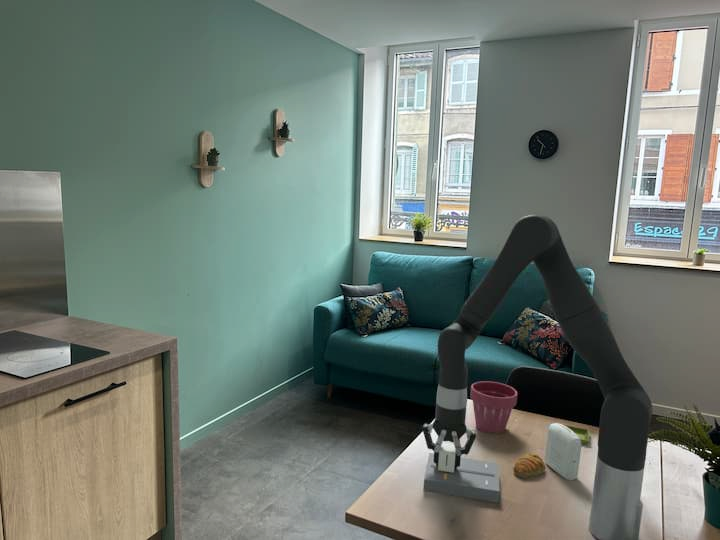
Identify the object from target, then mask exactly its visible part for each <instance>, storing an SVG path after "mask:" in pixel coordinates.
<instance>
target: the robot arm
mask: <svg viewBox="0 0 720 540" xmlns="http://www.w3.org/2000/svg"><path fill="white" fill-rule="evenodd" d="M532 262H533V264H534V265H535V266H536V268H537V270H538V272H539V273H540V276H541V278H542V281H543V282H544V286H545V290H546V293H547V294H546V295H547V297H548V300H549V304H550V307H551V311H552V314H553V315H554V318H555V320H556V322H557V325H558V326H559V329H560V330H561V332H562V334H563V336H564V338H565V339H566V341H567V343H568V344H569V346H570V347H571V348H572V349H573V351H574V352H575V353H576V354H577V355H578V356H579V357H580V358H581V359H582V361H584V363H585V364H586V365H587V366H588V367H589V369H590V370H591V372H592V374H593V376H594V378H595V380H596V381H597V384H598V386H599V388H600V392H601V393H602V396H603V398H604V401H603V404H602V406H601V411H600V416H599V418H600V419H599V425H598V426H599V427H598V437H597V456H596V463H595V473H594V481H593V490H592V498H591V505H590V506H591V507H590V514H589V521H588V522H589V523H588V530H589V532H590V533H591V534H592V535H593V536H594V537H595V538H596V539H598V540H639V537H640V530H641V523H642V516H643V508H644V504H643V502H642V500H641V495H642V489H643V481H644V473H645V465H646V459H647V449H648V439H649V434H650V426H651V425H650V424H651V420H652V416H653V415H652V414H653V405H652V400H651V399H650V397H649V395H648V393H647V391H646V390H645V388H644V387H643V386H642V384H641V383H640V382H639V380H638V379H637V377H636V376H635V375H634V372H633V371H632V369H631V368H630V366H629V365H628V363H627V361H626V360H625V358H624V356H623V354H622V352H621V350H620V347H619V344H618V343H617V341H616V339H615V336H614V334H613V332H612V331H611V328H610V326H609V324H608V322H607V320H606V318H605V316H604V314H603V312H602V310H601V308H600V307H599V305H598V304H597V301H596V300H595V298H594V296H593V295H592V293H591V292H590V290H589V288H588V286H587V285H586V283H585V281H584V280H583V278H582V276H581V275H580V273H579V272H578V270H577V269H576V268H575V265H574V264H573V262H572V259H571V258H570V256H569V253H568V250H567V248H566V246H565V243H564V241H563V239H562V235H561V233H560V230H559V228H558V226H557V224H556V223H555V222H554V221H553V220H552V219H551V218H550V217H548V216H546V215H542V214H529V215H525V216H523V217H521V218H520V219H518V220H517V221H516V222H515V224H514V226H513V227H512V229H511V231H510V234H509V235H508V237H507V239H506V241H505V243H504V245H503V247H502V249H501V251H500V253H499V254H498V256H497V258H496V259H495V261H494V263H493V264H492V266H491V267H490V268H489V270H488V271H487V272H486V274H484V277H483V278H482V279H481V281H480V282H479V283H478V285H476V287H475V288H474V290H473V291H472V292H471V294H470V295H469V296H468V297H467V299H466V300H465V302H464V303H463V305H462V307H461V309H460V312H459V314H458V316H457V317H456V318H455V320H454V321H453V322H452V324H450V325H449V326H447V327H445V328H444V329H443V330H442V331H441V332H440V334H439V335H438V339H437V355H438V356H437V357H438V363H439V371H438V372H439V375H438V384H437V385H438V386H437V391H436V401H435V415H434V416H435V417H434V421H433V422H432V423H427V422H426V423H423V425H422V433H423V436H424V440H425V444H426V447H427V449H428V450H432V451H433V453H434V463H436V466H438V462H439V450H440V447H441V445H442V443H444V442H450V443H453V445H454V446H455V450H456V454H455V466H454V469H457V467H459V466H460V460H461V458H462V455H465V456H466V455H468V454H470V451H471V449H472V446H473V445H474V442H475V441H476V438H477V431H476V430H475V429H472V430H471V429H469V428H468V427H467V425H466V418H467V417H466V416H467V406H468V405H467V403H468V378H469V368H468V365H467V364H466V363H465V362H466V361H465V360H466V359H465V358H466V357H465V356H466V354H465V353H466V350H467V349H469V348H471V346H472V345H473V343H474V342H475V341H476V340H477V337H478V336H479V335H480V333H481V332H482V331H483V328H484V326H485V325H486V324H487V323H488V322H489V321H490V319H491V318H492V317H493V316H494V315H495V313H496V312H497V311H498V309H499V308H500V306H501V305H502V304H503V302H504V301H505V299H506V297H507V296H508V294H509V292H510V290H511V289H512V287H513V284H514V283H515V282H516V280H517V279H518V277H519V276H520V275H521V274H522V273H523V272H524V270H525V269H526V268H527V267H528V266H529V265H530V264H531V263H532ZM433 430H434V432H435V433H436V436H437V439H436V442H433V438H432V435H431V433H432V431H433ZM465 434H466V439H467V440H466V443H465V445H464V446H462V445H461V438H462V437H463V436H464V435H465Z"/></svg>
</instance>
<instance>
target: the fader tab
mask: <svg viewBox="0 0 720 540" xmlns="http://www.w3.org/2000/svg"><path fill="white" fill-rule="evenodd" d="M455 454H456V450H455V446H454V443H453V444H452V443H447V442H442V445H441V447H440V450H439V462H438V470H440V471H446V472H453V473H454V466H455Z"/></svg>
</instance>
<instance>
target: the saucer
mask: <svg viewBox="0 0 720 540" xmlns="http://www.w3.org/2000/svg"><path fill="white" fill-rule="evenodd" d="M562 425H564V426H566V427H568V428H569V429H571V430H572V431H573V432H574V433H575V434H576V435H577V436H578V437H579V439H580V440H581V445H583V444H584V445H586V444H587V443H589V441H590V429H587V428H583V427H577V426H572V425H567V424H562Z"/></svg>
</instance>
